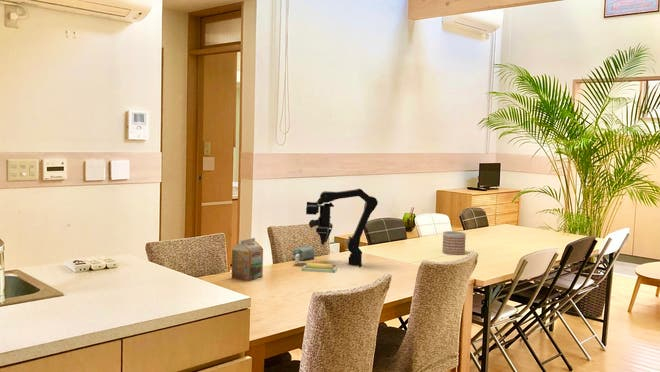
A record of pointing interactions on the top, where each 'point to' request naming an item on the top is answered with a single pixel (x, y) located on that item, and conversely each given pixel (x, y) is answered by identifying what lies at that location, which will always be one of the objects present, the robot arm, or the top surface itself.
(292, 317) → the top surface
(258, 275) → the milk carton
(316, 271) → the tray
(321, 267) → the yellow cylinder
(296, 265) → the holder board
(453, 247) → the planter
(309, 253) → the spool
